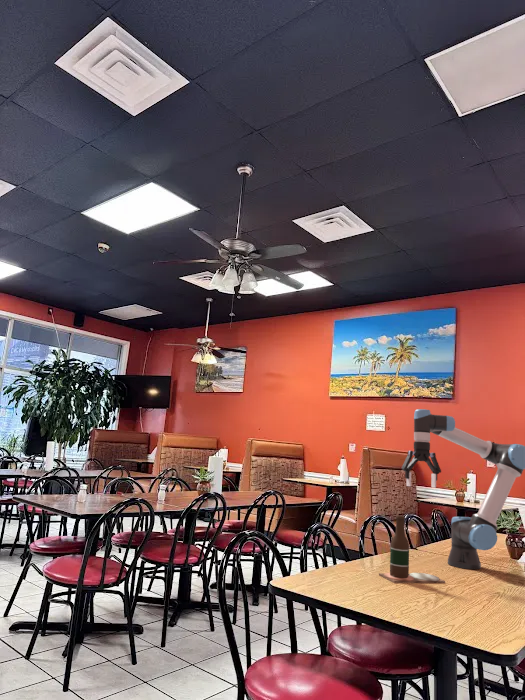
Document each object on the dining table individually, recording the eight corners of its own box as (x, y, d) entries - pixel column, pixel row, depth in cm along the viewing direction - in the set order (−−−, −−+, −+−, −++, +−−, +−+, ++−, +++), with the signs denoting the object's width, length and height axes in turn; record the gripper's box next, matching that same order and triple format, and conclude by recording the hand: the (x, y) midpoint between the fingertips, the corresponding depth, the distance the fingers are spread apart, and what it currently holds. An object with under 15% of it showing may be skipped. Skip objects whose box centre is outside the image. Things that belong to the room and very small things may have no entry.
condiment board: (428, 575, 220) (428, 572, 221) (445, 583, 209) (445, 580, 209) (378, 575, 214) (378, 572, 214) (393, 582, 203) (393, 579, 203)
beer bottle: (411, 579, 206) (412, 517, 211) (391, 577, 207) (393, 516, 211) (406, 574, 214) (407, 515, 219) (387, 573, 214) (389, 514, 219)
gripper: (439, 443, 251) (439, 487, 247) (394, 439, 244) (393, 484, 240) (448, 443, 244) (448, 489, 240) (403, 439, 237) (402, 486, 233)
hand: (421, 487), depth 240 cm, fingers open, 13 cm apart
